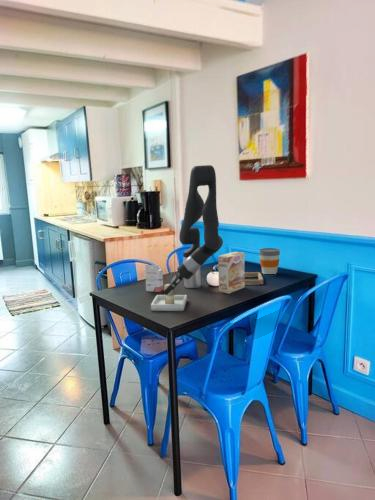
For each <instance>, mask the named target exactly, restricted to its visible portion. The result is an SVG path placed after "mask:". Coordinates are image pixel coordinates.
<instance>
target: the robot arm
mask: <svg viewBox="0 0 375 500" xmlns="http://www.w3.org/2000/svg"><path fill="white" fill-rule="evenodd" d="M216 175H217V174H216V170H215V168H214V166H213V165H210V164H209V165H207V164H206V165H195V166H194V165H193V167H191V170H190V175H189V186H188V187H189V188H188V194H187V199H186V203H185V209H184V215H183V220H182V224H181V227H180V229H179V230H180V231H179V236H178V237H179V242H180V243H181V245H191V247H189V248H188V249H185V250H184V251H182V259H183V261H182V262H181V264H180V265H179V266H178V267H177V268H176V269H177V272H178V273H176V274H175V275H174V277H172V280H171V281H170V282H169V283H168V284H170V285H169V286H168V287H167V288H166V290H165V291H164V290H163V291H162V292H163V295H167V294H168V293H169V292H170V291H171V290H174V291H175V288H176V287H178V286H179V285H180V284H181V283H182V282H183V283H184V285H183V286H184V288H187V289H197V288H201V283H202V282H201V267H202V266H203V264H205V262H206V261H208V259H210V257H212V256H213V255H215V253H217V252H218V251H219V250H220V249H221V248H222V246H223V244H224V241H223V238H222V237H221V236H220V235H219V229H218V228H219V226H220V225H219V224H220V222H219V215H218V208H217V206H218V205H217V176H216ZM204 186H206V187H207V186H208V192H207V197H206V200H205V201H204V199H203V197H202V196H201V195H200V193H199V191H198V187H204ZM201 218H202V221H203V222H202V223H203V239H204V240H203V242H204V243H203V245H202V246H201V232H200V229H199V228H198V227H196V226H194V225H196V223H197V222H198V221H200V219H201ZM193 226H194V227H193ZM172 284H173V286H174V287H172V286H171V285H172Z"/></svg>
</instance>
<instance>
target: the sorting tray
mask: <svg viewBox="0 0 375 500" xmlns="http://www.w3.org/2000/svg"><path fill="white" fill-rule="evenodd" d="M187 296H188V295H187V294H174V304H165V294H156V296H155V297H154V298H153V300H152V302H151V303H150V311H151V312H172V311H173V312H184V311H185V308H186V306H187V305H186V304H187V302H188V298H187Z"/></svg>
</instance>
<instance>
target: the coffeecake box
mask: <svg viewBox="0 0 375 500" xmlns="http://www.w3.org/2000/svg"><path fill="white" fill-rule="evenodd" d="M217 257H218V258H217V261H218V267H217V268H218V292H219V293H225V294H229V295H230V294H231V293H234V292H236V291H239V290H241V289H244V288H245V287H246V285H245V280H246V279H245V278H246V277H245V252H241V251H240V252H239V251H234V252H233V251H232V252H229V253H223V254H221V255H220V254H219V255H218V256H217Z"/></svg>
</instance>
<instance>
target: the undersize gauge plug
mask: <svg viewBox="0 0 375 500" xmlns="http://www.w3.org/2000/svg"><path fill="white" fill-rule="evenodd" d="M169 285H170V284H169V283H166V284H163V292H164V291H165V290H166V288H167V287H168V286H169ZM171 286H172V287H174V286H173V284H172V285H171ZM164 295H165V294H164ZM174 295H175V289H174V290H171V291H170V292H169V293H168V294H167V295H165V304H174Z"/></svg>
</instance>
